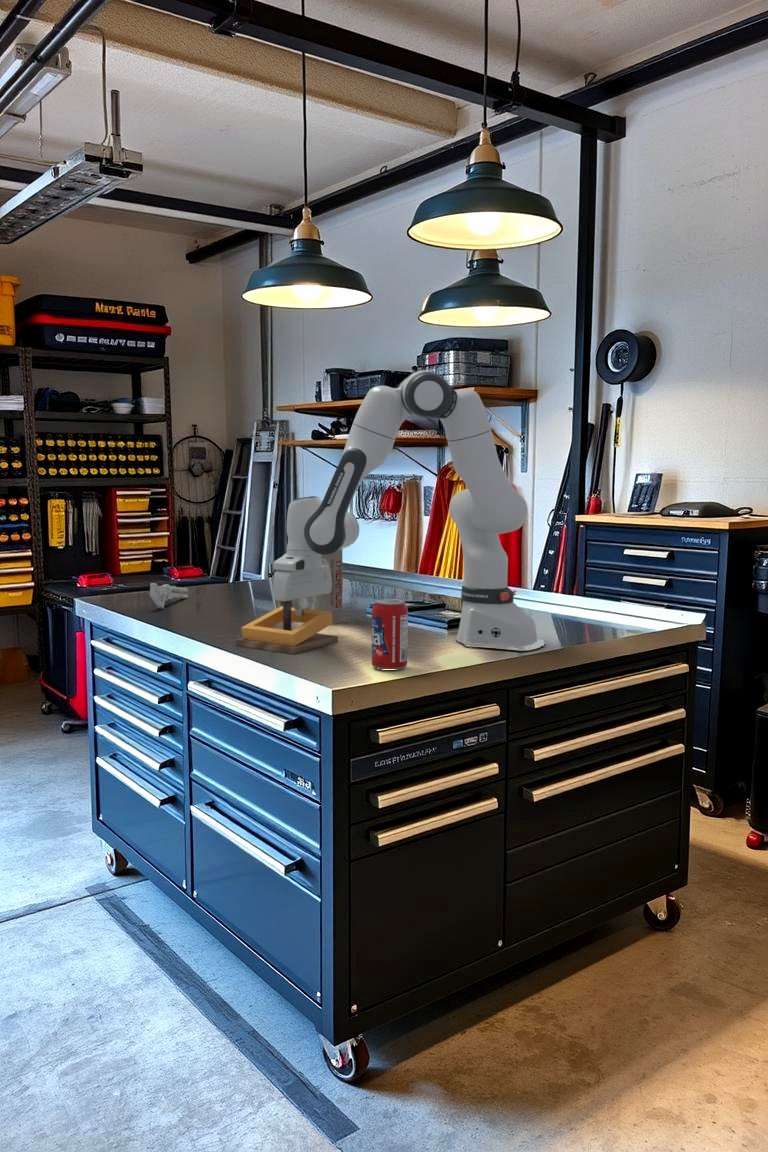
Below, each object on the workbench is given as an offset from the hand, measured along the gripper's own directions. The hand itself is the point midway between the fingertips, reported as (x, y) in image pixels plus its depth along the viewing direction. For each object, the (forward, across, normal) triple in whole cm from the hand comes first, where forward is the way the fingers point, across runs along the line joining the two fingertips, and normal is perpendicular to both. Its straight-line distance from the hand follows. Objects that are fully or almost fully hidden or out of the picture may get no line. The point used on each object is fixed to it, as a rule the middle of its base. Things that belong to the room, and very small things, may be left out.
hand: (303, 614), depth 225 cm
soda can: (+6, +15, +35) cm, 39 cm away
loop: (+3, +6, 0) cm, 7 cm away
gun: (+7, -21, -68) cm, 72 cm away
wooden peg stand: (+6, +7, 0) cm, 9 cm away
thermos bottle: (+6, -24, -10) cm, 27 cm away
